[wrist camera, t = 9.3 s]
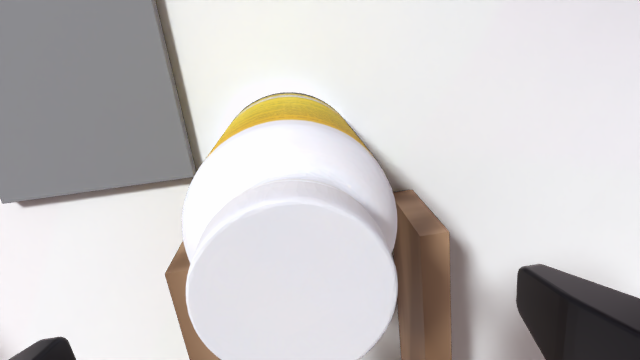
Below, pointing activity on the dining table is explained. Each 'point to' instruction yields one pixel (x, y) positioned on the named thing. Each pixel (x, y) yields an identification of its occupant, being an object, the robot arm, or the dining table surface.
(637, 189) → the dining table surface
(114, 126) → the coaster
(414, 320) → the shelf bay
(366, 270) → the pill bottle
